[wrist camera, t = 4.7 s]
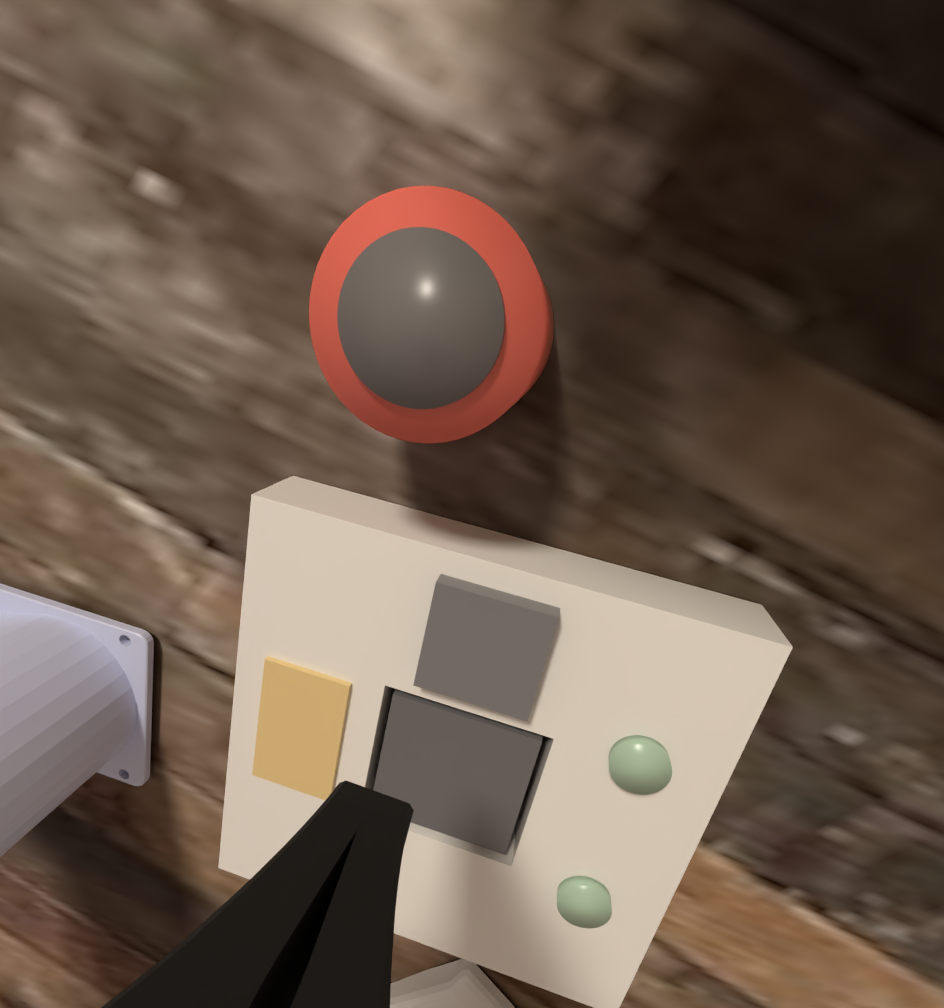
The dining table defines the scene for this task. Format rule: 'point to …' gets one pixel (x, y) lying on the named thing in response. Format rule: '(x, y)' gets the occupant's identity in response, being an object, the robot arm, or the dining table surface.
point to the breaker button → (456, 769)
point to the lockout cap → (429, 315)
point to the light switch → (448, 988)
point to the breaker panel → (499, 696)
